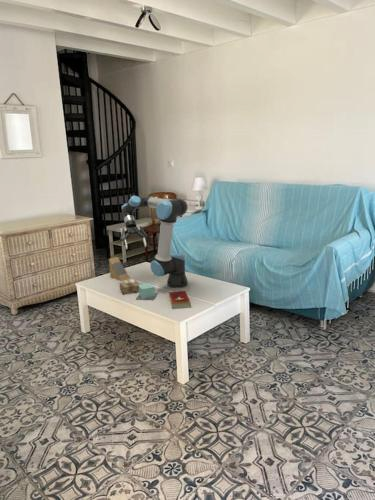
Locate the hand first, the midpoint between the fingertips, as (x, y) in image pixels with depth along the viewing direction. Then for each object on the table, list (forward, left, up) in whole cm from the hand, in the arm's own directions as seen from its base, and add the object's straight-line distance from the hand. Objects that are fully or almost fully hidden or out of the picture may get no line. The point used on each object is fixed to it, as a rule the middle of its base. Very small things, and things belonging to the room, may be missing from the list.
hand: (136, 247), depth 281 cm
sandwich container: (+21, -20, -30) cm, 42 cm away
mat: (-11, +18, -30) cm, 36 cm away
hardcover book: (-34, +25, -30) cm, 52 cm away
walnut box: (+4, +8, -30) cm, 31 cm away
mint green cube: (-11, +18, -29) cm, 36 cm away
